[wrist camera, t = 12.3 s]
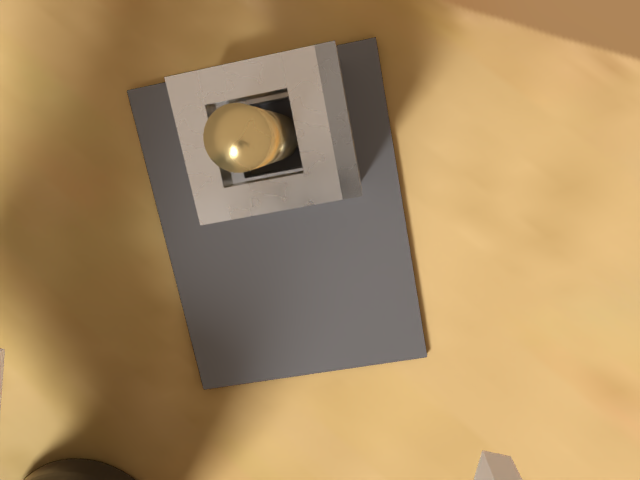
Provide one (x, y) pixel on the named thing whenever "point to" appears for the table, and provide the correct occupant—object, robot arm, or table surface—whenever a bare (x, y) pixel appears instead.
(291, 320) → the mat
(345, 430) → the table surface
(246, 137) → the pin
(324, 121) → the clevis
